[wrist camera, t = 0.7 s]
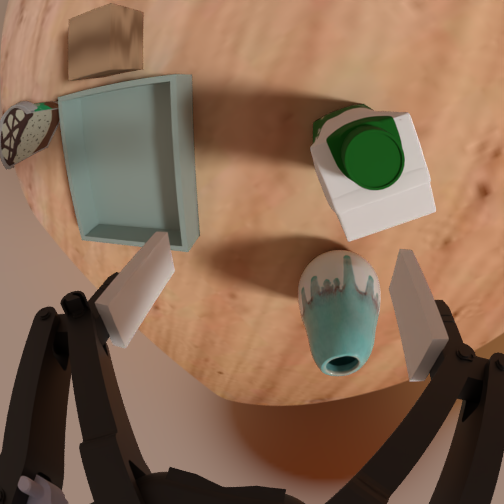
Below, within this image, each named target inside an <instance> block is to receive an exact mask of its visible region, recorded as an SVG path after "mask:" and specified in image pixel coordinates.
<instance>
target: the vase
mask: <svg viewBox="0 0 504 504" xmlns="http://www.w3.org/2000/svg"><path fill="white" fill-rule="evenodd" d="M298 302H299V309H300V314H301V318H302V321H303V324H304V326H305V329H306V333H307V337H308V341H309V346H310V350H311V353H312V356H313V359H314V361H315V363H316V365H317V366H318V367H319V369H320V370H321V371H322V372H323V373H325V374H327V375H331V376H345V375H349V374H352V373H354V372H356V371H358V370H359V369H360V368H361V367H362V366H363V365H364V364H365V363H366V361H367V360H368V358H369V356H370V354H371V352H372V349H373V345H374V339H375V330H376V325H377V321H378V316H379V310H380V284H379V280H378V277H377V274H376V272H375V270H374V268H373V267H372V266H371V264H370V263H369V262H368V261H367V260H366V259H365V258H363V257H362V256H360V255H359V254H356V253H354V252H351V251H347V250H333V251H328V252H325V253H323V254H321V255H319V256H317V257H316V258H315V259H313V260H312V261H311V262H310V263H309V264H308V265H307V267H306V268H305V270H304V271H303V273H302V275H301V278H300V281H299V285H298Z"/></svg>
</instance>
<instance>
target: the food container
mask: <svg viewBox="0 0 504 504" xmlns="http://www.w3.org/2000/svg"><path fill="white" fill-rule="evenodd" d="M59 123H60V118H59V107H58V101H54V102H44V103H36V104H33V103H31V102H28V101H22V102H19V103H17V104H15V105H13V106H12V107H10V108H9V109H8V110H7V111H6V112H5V113H4V114H3V116H2V118H1V120H0V158H1V161H2V163H3V165H4V167H5V168H6V169H11V168H14V165H15V164H17V163H19V162H21V161H22V160H24V159H26V158H28V157H30V156H32V155H34V154H36V153H37V152H39V151H41V150H43V149H45V148H47V147H48V146H49V143H50V141H51V139H52V137H53V135H54V133H55V131H56V129H57V127H58V125H59Z"/></svg>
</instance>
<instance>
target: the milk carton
mask: <svg viewBox="0 0 504 504" xmlns="http://www.w3.org/2000/svg"><path fill="white" fill-rule="evenodd" d="M310 151H311V154H312V158H313V162H314V167H315V170H316V173H317V176H318V179H319V181H320V184H321V186H322V189H323V192H324V194H325V197H326V199H327V201H328V204H329V205H330V207H331V208H332V210H333V211H334V212H335V213H336V215H337V217H338V219H339V221H340V224H341V226H342V228H343V231H344V233H345V235H346V238H347V240H348V242H349V241H352V240H355V239H358V238H361V237H364V236H367V235H370V234H373V233H376V232H379V231H382V230H385V229H388V228H391V227H393V226H396V225H399V224H402V223H405V222H408V221H411V220H414V219H417V218H419V217H422V216H425V215H428V214H431V213H434V212H436V208H435V203H434V198H433V194H432V189H431V185H430V181H431V179H430V175H429V171H428V167H427V165H426V162H425V158H424V155H423V152H422V149H421V145H420V142H419V139H418V136H417V133H416V130H415V127H414V124H413V122H412V119H411V116H410V114H409V113H408V112H387V111H374V110H373V109H371V108H369V107H368V106H366V105H365V104H359V105H352V106H348V107H345V108H343V109H340V110H337V111H334V112H332V113H329V114H327V115H325V116H324V117H322V118H320V119H319V120H317V121H315V122H313V144H312V146H311V147H310Z"/></svg>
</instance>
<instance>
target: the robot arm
mask: <svg viewBox="0 0 504 504" xmlns="http://www.w3.org/2000/svg"><path fill="white" fill-rule="evenodd" d="M174 271H175V269H174V264H173V259H172V254H171V248H170V243H169V237H168V232H157V231H156V232H155V233H154V235H153V236H152V237H151V238H150V239H149V240H148V241H147V242H146V243H145V244H144V246H143V247H142V248H141V249H140V250H139V251H138V252H137V253H136V254H135V256H134V257H133V258H132V259H131V260H130V261H129V262H128V264H127V265H126V266H125V267H124V268H123V269H122V271H121V272H120V273H118V272H116V273H114V274H113V275H111V276H110V277H108V278H107V280H106V281H105V282H104V283H103V285H101V287H100V288H99V289H98V290H97V291H96V292H95V294H94V295H93V296H92V297H91V298H90V300H89V301H88V302H87V299H86V297H85V295H84V293H83V292H81V291H74V292H71V293H68V294H67V295H66V296H64V297H63V299H62V300H61V306H62V308H63V310H64V312H65V314H57V312H56V310H55V309H54V308H53V307H45V308H42V309H41V310H40V311H38V313H37V314H36V316H35V318H34V320H33V323H32V326H31V329H30V332H29V335H28V338H27V341H26V344H25V347H24V350H23V354H22V357H21V361H20V364H19V368H18V371H17V375H16V379H15V383H14V387H13V391H12V396H11V400H10V405H9V410H8V415H7V421H6V427H5V433H4V440H3V447H2V452H1V454H0V504H68V501H67V500H66V499H65V495H64V494H63V492H62V486H63V479H64V449H65V429H66V428H65V427H66V415H67V404H68V394H69V386H70V379H71V374H72V381H73V388H74V395H75V401H76V407H77V412H78V418H79V422H80V427H81V432H82V436H83V442H82V443H80V446H79V449H80V454H81V458H82V462H83V466H84V470H85V473H86V476H87V480H88V484H89V487H90V490H91V493H92V496H93V499H94V502H93V503H91V504H305V503H304V502H302V501H300V500H299V499H297V498H295V497H293V496H290V495H287V494H285V492H286V489H278V488H269V487H261V486H246V487H222V486H220V485H218V484H215V483H213V482H211V481H209V480H207V479H205V478H203V477H201V476H199V475H197V474H194V473H190V472H186V471H182V470H179V469H175V468H172V467H170V468H169V471H168V472H158V473H151V471H150V469H149V468H148V466H147V465H146V463H145V461H144V460H143V457H142V455H141V452H140V450H139V447H138V444H137V442H136V439H135V436H134V434H133V431H132V428H131V425H130V422H129V419H128V416H127V413H126V410H125V407H124V404H123V400H122V397H121V394H120V390H119V387H118V384H117V380H116V376H115V372H114V369H113V365H112V361H111V357H110V353H109V348H108V345H107V343H106V341H107V340H108V338H109V337H110V339H111V341H112V343H113V345H116V346H119V347H123V348H126V347H127V345H128V344H129V342H130V341H131V339H132V337H133V336H134V334H135V333H136V331H137V329H138V328H139V326H140V324H141V323H142V321H143V320H144V318H145V316H146V315H147V313H148V312H149V310H150V309H151V307H152V305H153V304H154V302H155V301H156V299H157V298H158V296H159V294H160V293H161V291H162V290H163V288H164V287H165V285H166V284H167V282H168V281H169V279H170V278H171V276H172V274H173V273H174ZM389 291H390V295H391V299H392V303H393V306H394V310H395V314H396V319H397V323H398V327H399V331H400V336H401V340H402V345H403V350H404V354H405V359H406V365H407V370H408V375H409V381H425V379H426V377H427V376H428V374H429V373H430V377H431V381H430V383H429V384H428V386H427V387H426V389H425V390H424V392H423V393H422V395H421V396H420V397H419V399H418V400H417V402H416V403H415V405H414V406H413V407H412V409H411V410H410V411H409V413H408V414H407V416H406V417H405V418H404V419H403V421H402V422H401V423H400V425H399V426H398V427H397V428H396V430H395V431H394V432H393V433H392V435H391V436H390V437H389V438H388V439H387V441H386V442H385V443H384V444H383V445H382V446H381V448H380V449H379V450H378V451H377V452H376V453H375V455H374V456H373V457H372V458H371V459H370V460H369V461H368V462H367V463H366V464H365V465H364V466H363V467H362V469H361V470H360V471H359V472H358V473H357V474H356V475H355V476H354V477H353V478H352V479H351V480H350V481H349V482H348V483H347V484H346V485H345V486H344V487H343V488H342V489H340V490H339V492H338V493H336V494H335V495H334V496H333V497H332V498H331V499H330V500H328V502H326V503H325V504H387V502H388V500H389V497H390V496H391V494H392V493H393V492H394V491H395V490H396V489H397V487H398V486H399V485H400V484H401V483H402V481H403V480H404V479H405V478H406V476H407V475H408V474H409V472H410V471H411V470H412V468H413V467H414V466H415V464H416V463H417V462H418V460H419V459H420V457H421V456H422V455H423V453H424V452H425V450H426V448H427V447H428V446H429V444H430V443H431V441H432V440H433V438H434V437H435V435H436V434H437V432H438V430H439V429H440V427H441V426H442V424H443V422H444V421H445V419H446V417H447V416H448V414H449V412H450V410H451V408H452V407H453V405H454V403H455V401H456V399H462V400H463V401H462V406H461V410H460V414H459V418H458V422H457V426H456V430H455V433H454V436H453V440H452V443H451V446H450V449H449V453H448V456H447V459H446V461H445V465H444V467H443V470H442V473H441V475H440V478H439V481H438V483H437V486H436V488H435V491H434V493H433V495H432V497H431V500H430V502H429V504H490V503H491V500H492V497H493V493H494V490H495V486H496V483H497V479H498V475H499V471H500V467H501V462H502V457H503V453H504V354H502V353H494V354H493V355H492V356H491V357H490V359H485V358H480V357H477V356H476V355H475V352H474V351H473V349H472V348H471V347H470V346H468V345H466V344H464V343H463V341H462V338H461V336H460V333H459V331H458V328H457V325H456V323H455V321H454V318H453V316H452V313H451V311H450V309H449V307H448V306H447V305H446V303H445V302H444V301H443V300H434V298H433V296H432V293H431V291H430V288H429V286H428V284H427V282H426V279H425V277H424V275H423V272H422V270H421V268H420V266H419V264H418V262H417V259H416V257H415V255H414V253H413V251H412V250H406V249H399V254H398V258H397V261H396V265H395V269H394V273H393V276H392V280H391V284H390V287H389Z"/></svg>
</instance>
